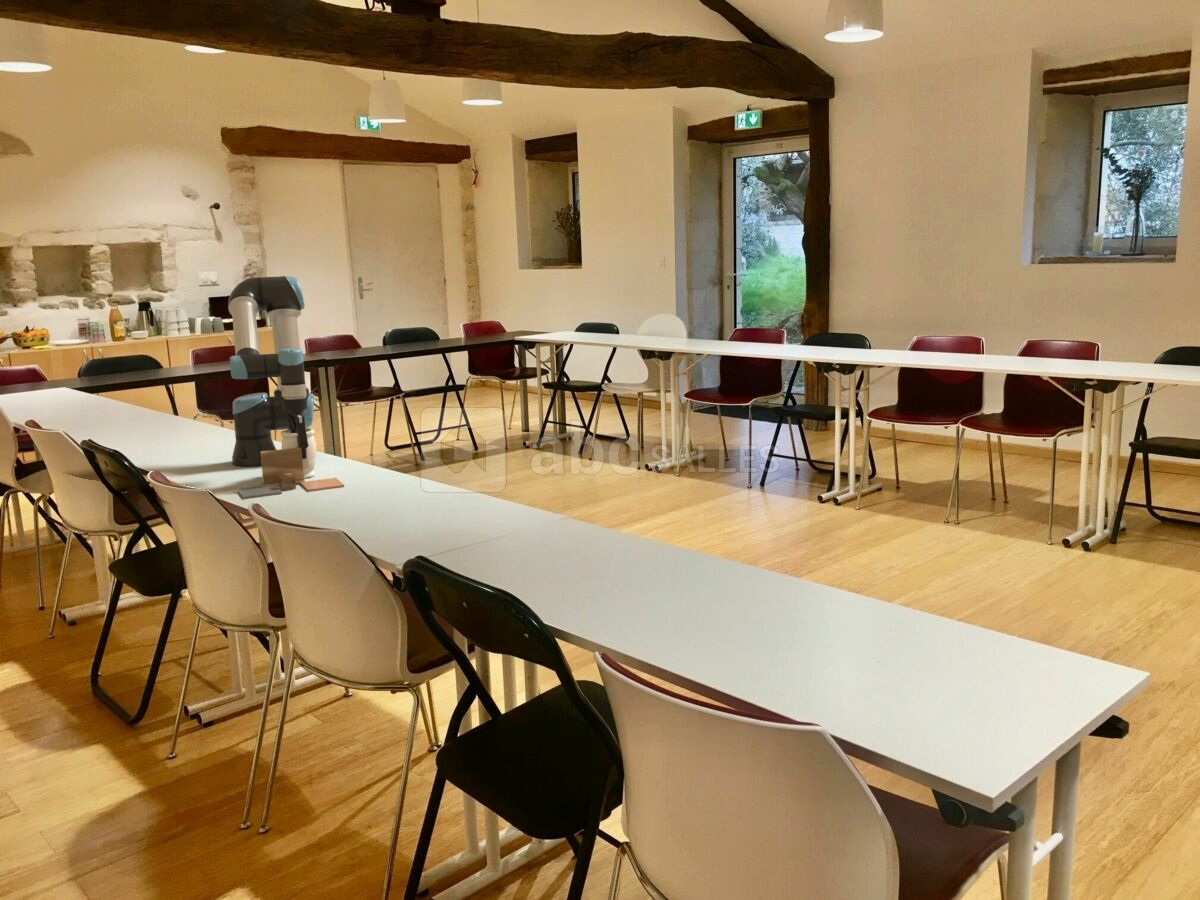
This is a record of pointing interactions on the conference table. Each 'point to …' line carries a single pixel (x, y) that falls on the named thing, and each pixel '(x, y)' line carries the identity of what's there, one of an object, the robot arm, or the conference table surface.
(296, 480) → the oak screen
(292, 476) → the letter cube
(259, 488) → the pad slate
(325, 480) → the pad terracotta
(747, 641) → the conference table surface
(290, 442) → the jar
